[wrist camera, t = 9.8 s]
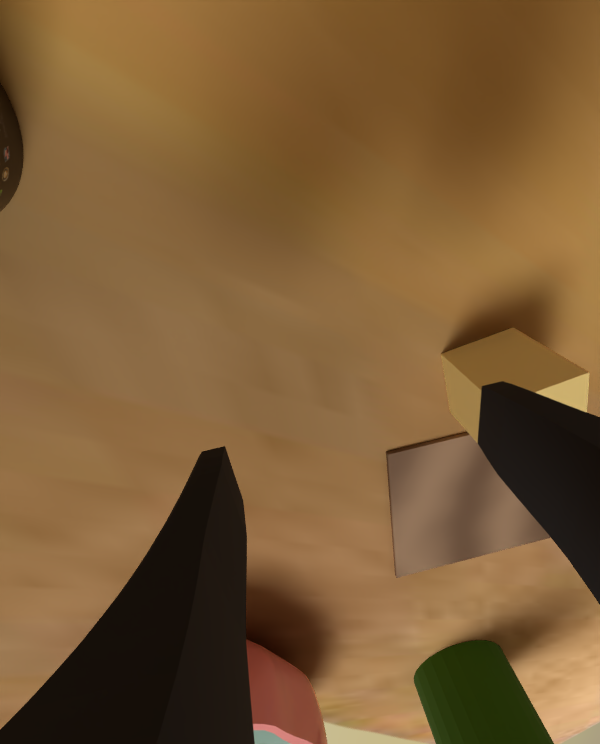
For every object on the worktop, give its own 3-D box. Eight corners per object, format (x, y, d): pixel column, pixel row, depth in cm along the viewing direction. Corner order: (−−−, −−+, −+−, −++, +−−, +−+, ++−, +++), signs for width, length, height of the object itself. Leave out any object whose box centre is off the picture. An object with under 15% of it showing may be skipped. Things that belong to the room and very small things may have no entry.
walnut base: (564, 397, 25) (579, 408, 24) (538, 524, 31) (549, 537, 30) (380, 441, 24) (387, 454, 23) (390, 563, 30) (396, 577, 29)
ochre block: (501, 320, 22) (589, 372, 16) (505, 379, 24) (584, 442, 18) (432, 345, 22) (497, 405, 16) (442, 402, 24) (502, 472, 18)
